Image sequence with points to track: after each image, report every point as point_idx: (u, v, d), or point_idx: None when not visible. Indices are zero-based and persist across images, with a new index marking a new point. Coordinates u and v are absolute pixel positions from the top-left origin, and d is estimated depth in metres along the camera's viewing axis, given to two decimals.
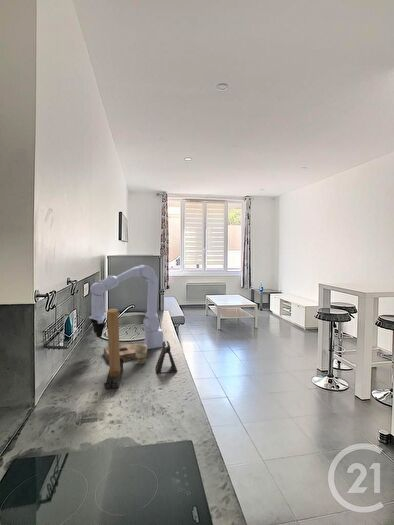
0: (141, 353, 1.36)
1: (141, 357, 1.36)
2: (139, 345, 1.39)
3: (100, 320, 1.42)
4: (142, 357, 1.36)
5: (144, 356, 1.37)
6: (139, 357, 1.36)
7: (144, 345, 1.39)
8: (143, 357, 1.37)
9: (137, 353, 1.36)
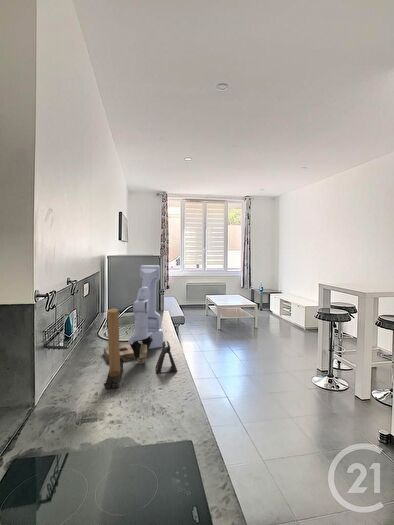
0: (141, 353, 1.36)
1: (141, 357, 1.36)
2: None
3: (129, 341, 1.32)
4: (142, 357, 1.36)
5: (144, 356, 1.37)
6: (139, 357, 1.36)
7: (144, 345, 1.39)
8: (143, 357, 1.37)
9: None
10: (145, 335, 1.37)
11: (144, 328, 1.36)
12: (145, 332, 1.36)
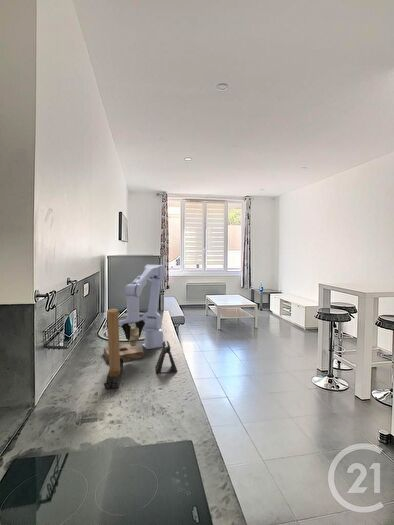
0: (132, 335, 1.40)
1: (132, 339, 1.40)
2: (131, 328, 1.42)
3: (119, 322, 1.37)
4: (133, 339, 1.40)
5: (135, 339, 1.40)
6: (130, 339, 1.40)
7: (136, 328, 1.42)
8: (134, 339, 1.40)
9: None
10: (135, 318, 1.40)
11: (134, 311, 1.39)
12: (135, 315, 1.40)
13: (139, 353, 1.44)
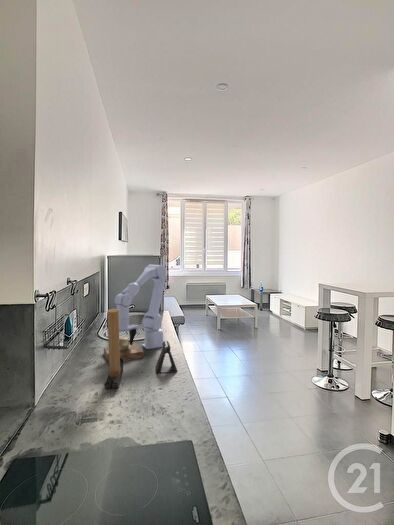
0: (120, 345, 1.45)
1: (120, 349, 1.45)
2: (122, 338, 1.48)
3: None
4: (121, 349, 1.45)
5: (123, 349, 1.45)
6: None
7: (126, 339, 1.47)
8: (122, 350, 1.45)
9: None
10: (124, 327, 1.45)
11: (122, 320, 1.44)
12: (124, 324, 1.45)
13: (139, 353, 1.44)
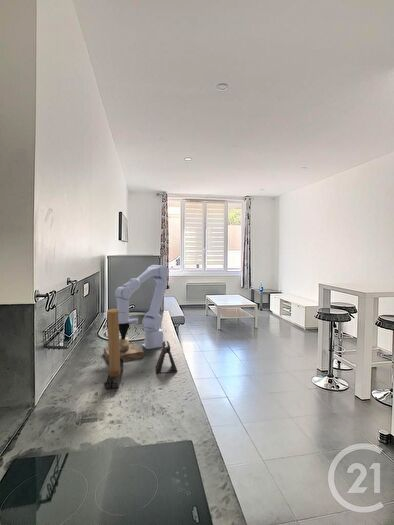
0: (120, 345, 1.45)
1: (120, 349, 1.45)
2: None
3: None
4: (121, 349, 1.45)
5: (123, 349, 1.45)
6: None
7: (126, 339, 1.47)
8: (122, 350, 1.45)
9: None
10: (124, 320, 1.45)
11: (122, 313, 1.44)
12: (124, 317, 1.44)
13: (139, 353, 1.44)
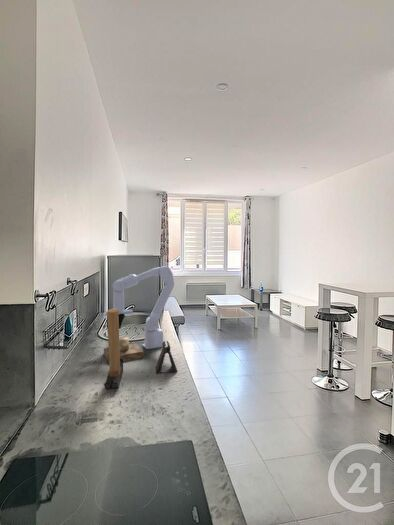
0: (120, 345, 1.45)
1: (120, 349, 1.45)
2: (122, 338, 1.48)
3: (104, 313, 1.55)
4: (121, 349, 1.45)
5: (123, 349, 1.45)
6: None
7: (126, 339, 1.47)
8: (122, 350, 1.45)
9: None
10: (119, 310, 1.56)
11: (118, 304, 1.56)
12: (119, 308, 1.56)
13: (139, 353, 1.44)
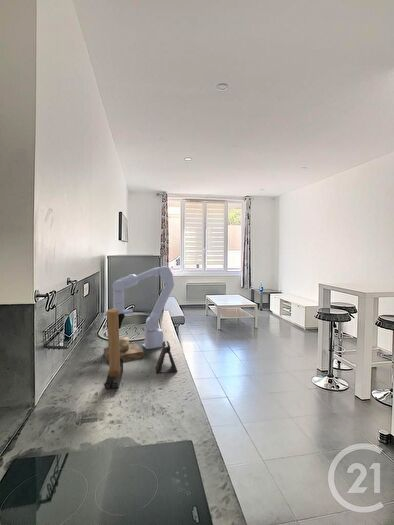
0: (120, 345, 1.45)
1: (120, 349, 1.45)
2: (122, 338, 1.48)
3: (104, 313, 1.55)
4: (121, 349, 1.45)
5: (123, 349, 1.45)
6: None
7: (126, 339, 1.47)
8: (122, 350, 1.45)
9: None
10: (119, 310, 1.56)
11: (118, 304, 1.56)
12: (119, 308, 1.56)
13: (139, 353, 1.44)
